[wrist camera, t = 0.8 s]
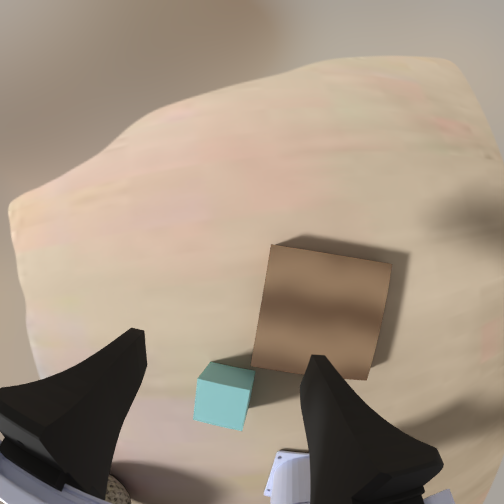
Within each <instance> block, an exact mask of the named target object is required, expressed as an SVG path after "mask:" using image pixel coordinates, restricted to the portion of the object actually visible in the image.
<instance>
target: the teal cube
mask: <svg viewBox="0 0 504 504" xmlns="http://www.w3.org/2000/svg"><path fill="white" fill-rule="evenodd" d="M254 376H255V371H253V370H248V369H243V368H237V367H233V366H228V365H223V364H219V363H214V362H210V363H209V364H208V366H207V367H206V368H205V370H204V371H203V372H202V374H201V375H200V376H199V377H198V380H197V389H196V398H195V407H194V417H193V420H197V421H201V422H204V423H208V424H212V425H217V426H221V427H225V428H230V429H235V430H240V431H242V430H243V426H244V422H245V419H246V415H247V411H248V407H249V402H250V397H251V392H252V387H253V381H254Z"/></svg>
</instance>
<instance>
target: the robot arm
mask: <svg viewBox="0 0 504 504" xmlns="http://www.w3.org/2000/svg"><path fill="white" fill-rule="evenodd" d="M146 367H147V357H146V346H145V334H144V330H139V329H135V328H130V329H129V330H128V331H126V332H125V333H123V334H122V335H121V336H119V337H118V338H117V339H115V340H114V341H113V342H111V343H110V344H108V345H107V346H106V347H104V348H103V349H101V350H100V351H98V352H97V353H95V354H94V355H92V356H91V357H89V358H87V359H86V360H84V361H82V362H81V363H79V364H77V365H75V366H73V367H71V368H69V369H67V370H65V371H63V372H61V373H58V374H55V375H53V376H50V377H47V378H45V379H42V380H38V381H35V382H31V383H27V384H22V385H18V386H11V387H2V388H0V432H1V433H2V434H3V436H4V437H5V438H4V440H3V441H1V440H0V500H1V501H2V502H4V503H5V504H112V503H109V502H107V501H104V500H105V498H106V490H107V484H108V477H109V472H110V468H111V463H112V459H113V455H114V451H115V447H116V443H117V440H118V437H119V433H120V430H121V427H122V424H123V422H124V420H125V417H126V415H127V413H128V411H129V409H130V407H131V405H132V402H133V400H134V398H135V396H136V394H137V392H138V390H139V387H140V385H141V383H142V380H143V377H144V374H145V371H146ZM300 401H301V410H302V415H303V421H304V426H305V431H306V437H307V442H308V448H309V453H300V452H290V451H278V452H277V454H276V457H275V460H274V463H273V467H272V470H271V473H270V476H269V479H268V482H267V485H266V488H265V491H264V495H265V496H270V497H271V500H270V504H455V502H454V499H453V497H452V494H451V492H450V489H446V490H443V491H441V492H438V493H436V494H433V495H431V496H429V497H427V498H425V499H423V498H422V495H421V494H423V493H424V492H425V490H424V487H423V485H425V484H426V483H427V482H428V481H430V480H431V479H432V478H433V477H435V476H436V475H437V474H438V473H439V472H440V471H441V470H442V468H443V465H444V463H443V461H442V459H441V457H440V454H439V452H438V450H437V448H435V447H432V446H430V445H428V444H425V443H423V442H421V441H418V440H416V439H415V438H413V437H411V436H409V435H407V434H405V433H404V432H402V431H400V430H399V429H397V428H396V427H394V426H393V425H392V424H390V423H389V422H387V421H386V420H385V419H383V418H382V417H381V416H380V415H378V414H377V413H376V412H375V411H374V410H373V409H371V408H370V407H369V406H368V405H367V404H366V403H365V402H364V401H363V400H362V399H361V398H360V397H359V396H358V395H357V394H356V393H355V392H354V390H353V389H352V388H351V387H350V386H349V385H348V384H347V382H346V381H345V380H344V379H343V377H342V376H341V375H340V374H339V372H338V371H337V370H336V369H335V367H334V366H333V365H332V364H331V362H330V361H329V360H328V358H327V357H326V356H325V355H313V354H312V355H311V357H310V360H309V363H308V366H307V369H306V371H305V374H304V377H303V379H302V382H301V385H300ZM279 456H281V457H279ZM268 489H270V490H268Z"/></svg>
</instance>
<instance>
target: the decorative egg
mask: <svg viewBox="0 0 504 504" xmlns="http://www.w3.org/2000/svg"><path fill="white" fill-rule="evenodd" d="M104 501H107V502H109V503H112V504H131V500H130V497H129V494H128V492H127V490H126V489H125V488H124V486H123V485H122V484H121V483H120V482H119V481H118V480H117V479H115V478H114V477H113V476H111V475H109V477H108V484H107V490H106V498H105V500H104Z"/></svg>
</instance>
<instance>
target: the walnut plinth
mask: <svg viewBox="0 0 504 504" xmlns="http://www.w3.org/2000/svg"><path fill="white" fill-rule="evenodd" d="M391 268H392V264H389V263H383V262H377V261H371V260H365V259H359V258H353V257H347V256H341V255H335V254H329V253H323V252H316V251H310V250H304V249H298V248H292V247H285V246H279V245H273V244H271V248H270V254H269V260H268V266H267V273H266V279H265V285H264V291H263V297H262V303H261V308H260V314H259V320H258V326H257V332H256V337H255V343H254V349H253V354H252V360H251V365H250V366H253V367H258V368H264V369H270V370H276V371H283V372H289V373H296V374H305V371H306V369H307V366H308V363H309V360H310V357H311V355H312V354H313V355H325V356H326V357H327V358H328V360H329V361H330V362H331V364H332V365H333V366H334V367H335V369H336V370H337V371H338V372H339V374H340V375H341V376H342V377H343V379H353V380H367V378H368V374H369V371H370V367H371V364H372V360H373V356H374V352H375V349H376V345H377V341H378V336H379V332H380V328H381V323H382V319H383V314H384V309H385V304H386V298H387V293H388V287H389V281H390V275H391Z"/></svg>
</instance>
